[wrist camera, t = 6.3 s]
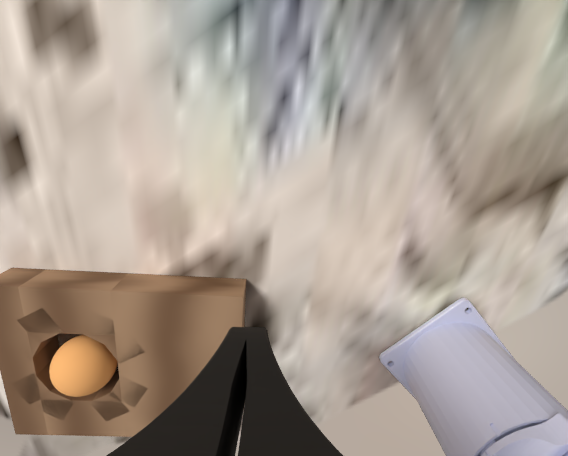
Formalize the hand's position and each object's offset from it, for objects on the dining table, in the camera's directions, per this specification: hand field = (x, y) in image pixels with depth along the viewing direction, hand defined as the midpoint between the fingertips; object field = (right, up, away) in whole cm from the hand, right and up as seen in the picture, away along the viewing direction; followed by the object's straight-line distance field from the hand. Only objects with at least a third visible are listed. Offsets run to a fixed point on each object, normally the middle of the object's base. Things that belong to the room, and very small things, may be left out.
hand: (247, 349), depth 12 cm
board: (-10, -4, +12) cm, 16 cm away
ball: (-12, -5, +10) cm, 17 cm away
